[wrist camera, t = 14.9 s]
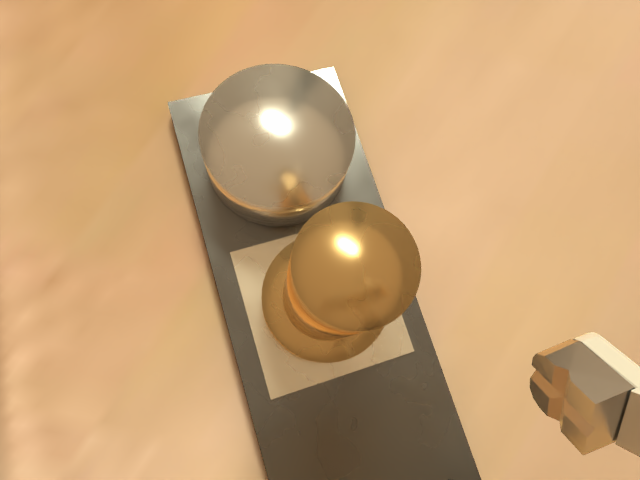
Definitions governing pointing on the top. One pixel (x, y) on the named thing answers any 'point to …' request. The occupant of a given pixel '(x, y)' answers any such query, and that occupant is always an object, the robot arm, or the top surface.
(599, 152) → the top surface
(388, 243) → the gold pawn piece
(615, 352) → the robot arm
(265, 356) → the carrier plate
